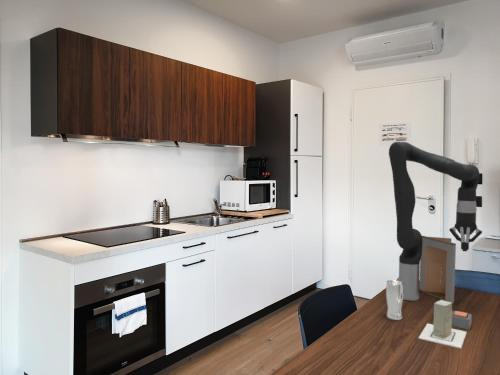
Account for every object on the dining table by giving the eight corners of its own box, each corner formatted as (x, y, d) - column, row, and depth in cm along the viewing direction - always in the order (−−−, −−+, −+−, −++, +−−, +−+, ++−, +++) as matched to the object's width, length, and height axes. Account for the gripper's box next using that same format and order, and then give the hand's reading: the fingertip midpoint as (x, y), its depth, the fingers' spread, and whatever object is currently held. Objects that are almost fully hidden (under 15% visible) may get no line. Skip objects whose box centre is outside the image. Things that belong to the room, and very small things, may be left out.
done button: (453, 320, 159) (454, 314, 159) (455, 316, 163) (455, 310, 163) (465, 322, 157) (466, 316, 157) (467, 319, 160) (467, 313, 160)
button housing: (449, 325, 159) (449, 315, 159) (452, 320, 165) (452, 310, 165) (469, 329, 155) (469, 319, 155) (471, 324, 161) (471, 314, 161)
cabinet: (419, 290, 204) (420, 235, 202) (434, 288, 207) (436, 234, 205) (451, 303, 184) (453, 243, 182) (467, 301, 187) (469, 242, 185)
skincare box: (444, 338, 147) (445, 306, 146) (432, 334, 150) (433, 303, 149) (451, 333, 151) (452, 302, 150) (439, 330, 154) (440, 299, 153)
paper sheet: (418, 338, 147) (418, 337, 147) (427, 324, 161) (427, 323, 161) (461, 348, 140) (461, 347, 139) (466, 332, 153) (466, 331, 153)
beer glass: (384, 318, 167) (384, 283, 166) (386, 313, 173) (387, 279, 172) (401, 321, 163) (402, 285, 162) (404, 315, 169) (404, 281, 169)
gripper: (447, 210, 172) (446, 250, 173) (483, 213, 164) (481, 254, 165) (450, 209, 178) (449, 247, 179) (484, 211, 170) (483, 251, 171)
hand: (464, 250), depth 172 cm, fingers closed
